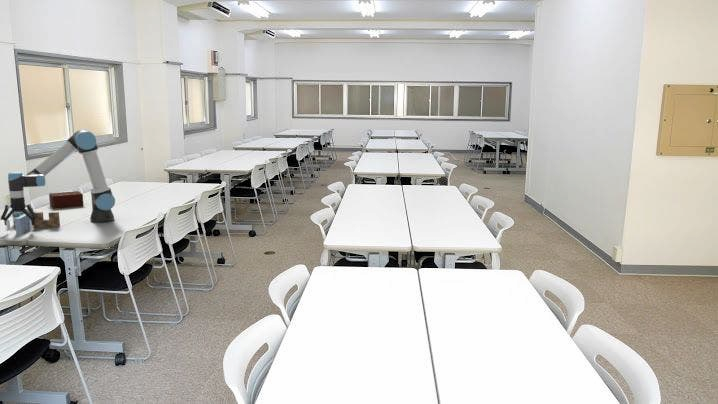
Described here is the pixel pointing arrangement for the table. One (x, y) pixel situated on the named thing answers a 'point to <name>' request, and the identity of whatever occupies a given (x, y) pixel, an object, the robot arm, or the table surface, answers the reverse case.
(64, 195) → the box
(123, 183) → the table surface
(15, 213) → the light bulb box
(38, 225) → the brown wooden u-shaped block
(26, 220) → the blue-grey rectangular slab
